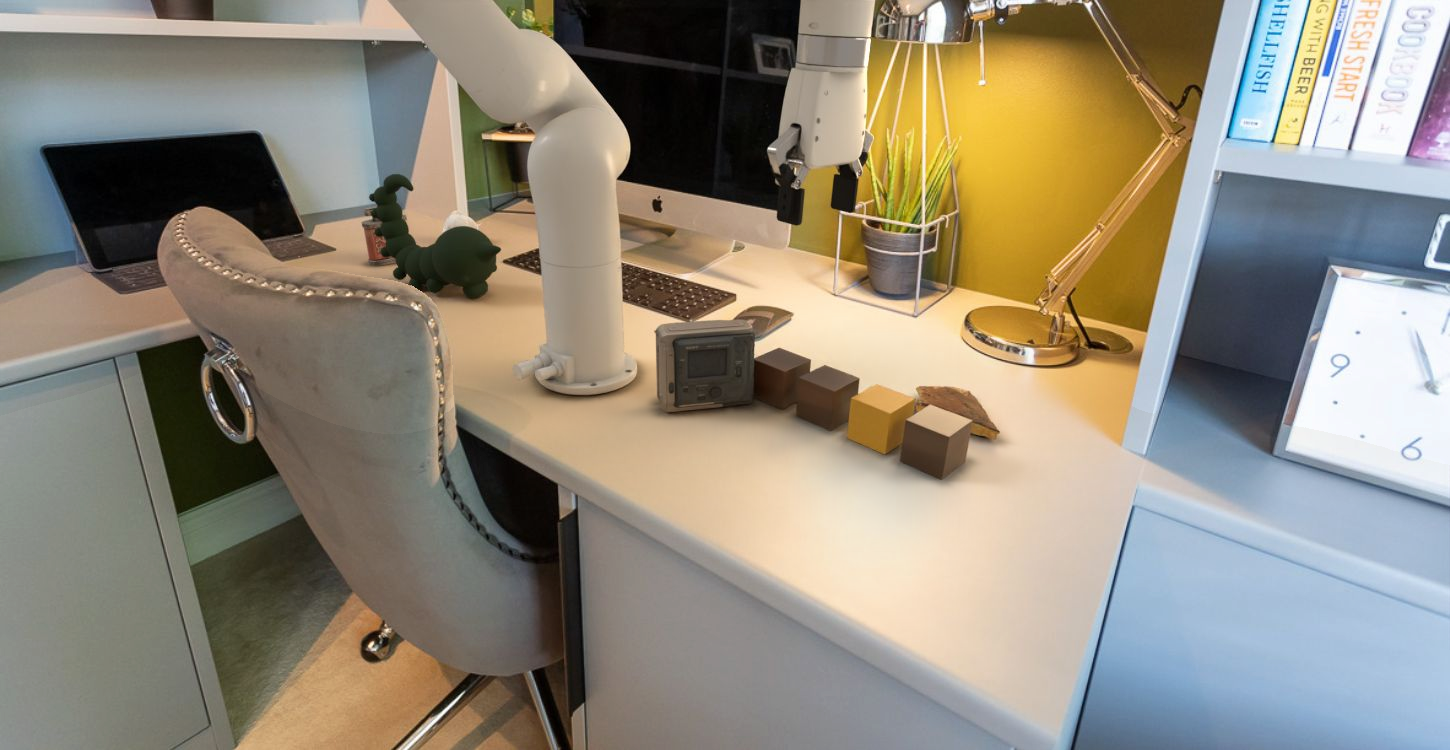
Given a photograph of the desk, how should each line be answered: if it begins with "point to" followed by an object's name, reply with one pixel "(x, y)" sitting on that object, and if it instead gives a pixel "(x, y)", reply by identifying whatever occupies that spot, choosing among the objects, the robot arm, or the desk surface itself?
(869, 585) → the desk surface
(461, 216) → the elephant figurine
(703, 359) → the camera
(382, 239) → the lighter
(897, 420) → the mustard block
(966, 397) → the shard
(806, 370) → the line block
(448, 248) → the toy figurine
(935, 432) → the line block
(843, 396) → the line block
